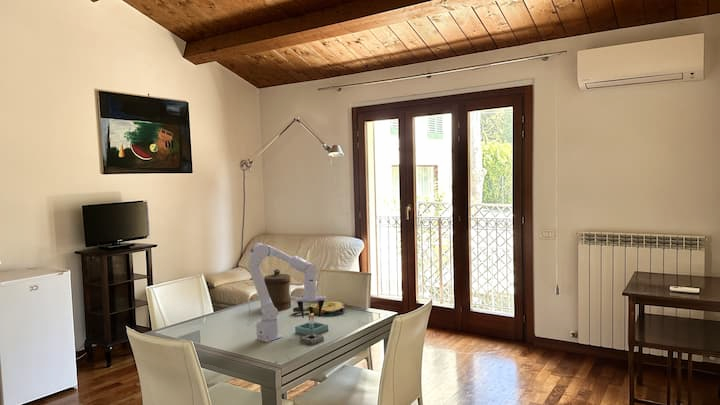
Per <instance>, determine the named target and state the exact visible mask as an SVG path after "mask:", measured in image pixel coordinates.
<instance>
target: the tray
mask: <svg viewBox="0 0 720 405" xmlns="http://www.w3.org/2000/svg"><path fill="white" fill-rule="evenodd" d="M314 328H315V329H313V330H310V329H309V321H308V322H305V323H302V324H299V325H296V326H295V327H294V330H295V334H298V335H303V336H306V335H309V334H316V335H321V334H323V333H326V332H329V324H328V323H323V322H317V321H314Z"/></svg>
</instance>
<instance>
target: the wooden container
mask: <svg viewBox="0 0 720 405" xmlns="http://www.w3.org/2000/svg"><path fill="white" fill-rule="evenodd" d="M263 279H264V282H265V285H266V287H267V290H268V293H269V296H270V298H271V301H272V303H273V305H274V307H275V308H276V309H277V310H278V312H279V311H285V310H288V309H291V307H292V293H291V292H292V291H291V275H290V274H287V273H281V270H279V269H276V268H275V270H273V273H272V274H268V275H266V276H265V275H264V276H263Z"/></svg>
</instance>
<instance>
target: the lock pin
mask: <svg viewBox="0 0 720 405" xmlns="http://www.w3.org/2000/svg"><path fill="white" fill-rule="evenodd" d="M308 322H309V329H310V330H313V329H315V328H314V322H315V314H313V313H310V312H309V313H308Z"/></svg>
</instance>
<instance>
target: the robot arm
mask: <svg viewBox="0 0 720 405" xmlns="http://www.w3.org/2000/svg"><path fill="white" fill-rule="evenodd" d="M267 257H268V258H271V257H276V258H277V259H280V260H282V261H284V262H286V263H288V266H289V267H290V268H293V269H294V270H295V271H296V270H297V271H298V272H300V273H303V289H304V290H303V291H304V292H303V294H304V296H303V297H302V296H301V297H294V303H295V304H297V307H299V308H300V311H301V312H300V313H301V318H302V319H304V318H305V314H304V312H305V311H304V312H303V307H304V303H310V302H312V303H314V302H315V303H316V302H317V303H319V312H318V315H317V316H318V317H319V318H320V317H321V315H320V313H321V309H322V306H323V304H324V302H327V296H325V295H324V296H323V295H321V296H320V295H319V296H318V295H317V276H316V275H317V273H318V269H317V266H316V265H315V264H313V263H312V262H310V261H309V260H305V259H303V258H301V256H300V255H289V254H287V253H285V252H283V251H282V250H280V249H277V247H274V246H271V245H269V244H264V243H263V242H256V243H255V244H253V246H251V248H250V250H249V256H248V260H247V267H248V270H249V272H250V275H251V279H252V282H253V283H254V284H253V285H254V287H255V290H256V293H257V296H258V298H259V303H260V305H261V307H260V311H261V314H262V317H261V320H260V321H257V323H256V326H255V327H256V337H255V340H258V341H261V342H265V343H268V342H272V341H274V340H277V339H280V338H283V335H281V334H279V322H278V320H279V318H278V315H279V311H278V310H277V309H276V308H275V307H274V305H273V303H272V301H271V298H270V296H269V293H268V290H267V287H266V285H265V282H264V276H263V273H262V271H261V268H260V265H261V264H262V262H263V260H265V259H266V258H267Z"/></svg>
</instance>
